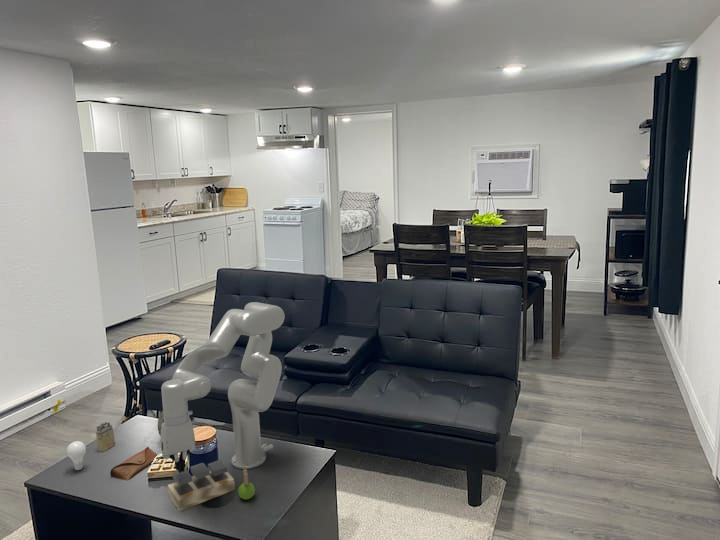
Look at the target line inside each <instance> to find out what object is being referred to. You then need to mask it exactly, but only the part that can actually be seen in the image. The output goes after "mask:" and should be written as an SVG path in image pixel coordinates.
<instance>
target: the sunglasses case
mask: <svg viewBox="0 0 720 540" xmlns="http://www.w3.org/2000/svg"><path fill="white" fill-rule="evenodd" d="M157 455H158V454H157V453H156V452H155V451H154V450H153V449H151V448H150V447H149V446H147V447H146V448H144V449H142V450H141V451H139V452H137V453H135V454H134V455H132V456H131V457H129V458H127V459H125V460H124V461H122V462H121V463H119V464H116V465H115V466H114V467H112V468H111V470H110V472H109V474H110V476H111V478H114V479H119V480H121V481H122V480H123V481H127V482H128V481H129V480H131V479H132V478H133V477H135V476H136V475H138V474H140V473H141V472H142V471H144V470H145V469H148V468H149V467H150V466H152V465H151V463H152V462H153V460H154V458H155V457H156V456H157ZM148 466H149V467H148Z"/></svg>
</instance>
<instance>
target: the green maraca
mask: <svg viewBox="0 0 720 540" xmlns="http://www.w3.org/2000/svg"><path fill="white" fill-rule="evenodd" d="M242 477H243V479H242V480H243V481H242V483H241V484H240V485H239V487H238V489H237V493H238V495H239V497H240V498H241V499H242V500H250V499H252V498H253V497H254V495H255V491H256V489H255V486H254V484H253V483H252V482H249V473H248V469H246V468H244V469H242Z"/></svg>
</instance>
